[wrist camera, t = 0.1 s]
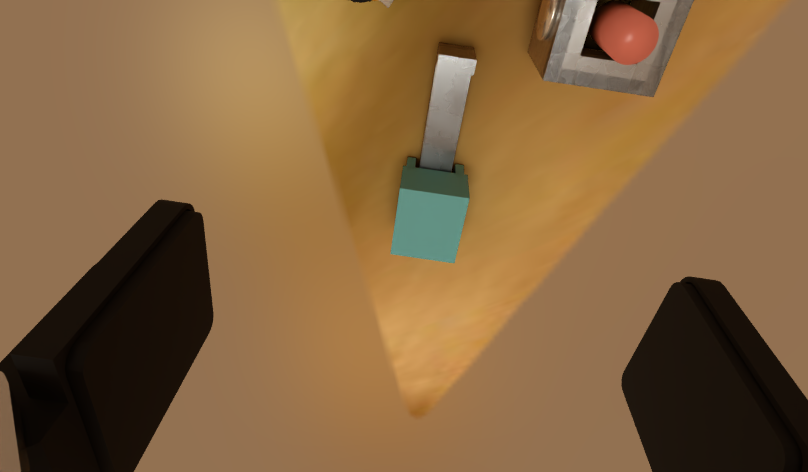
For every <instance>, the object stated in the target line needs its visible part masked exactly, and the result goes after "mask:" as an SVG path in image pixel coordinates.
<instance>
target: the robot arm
mask: <svg viewBox="0 0 808 472" xmlns="http://www.w3.org/2000/svg"><path fill="white" fill-rule="evenodd" d="M212 323H213V306H212V297H211V288H210V278H209V269H208V260H207V250H206V242H205V232H204V223H203V217H202V215H201V213H198V212H195V211H194V208H193V206H192V205H191V204H188V203H182V202H175V201H168V200H158V201H157V202H156V203H155V204H154V205H153V206H152V207H151V208H150V209H149V210H148V211H147V212H146V213H145V214H144V215H143V216H142V217H141V218H140V219H139V220H138V221H137V222H136V223H135V224H134V225H133V226H132V228H131V229H130V230H129V231H128V232H127V233H126V234H125V235H124V236H123V237H122V238H121V239H120V240H119V241H118V242H117V243H116V244H115V245H114V246H113V247H112V248H111V250H109V251H108V253H107V254H106V255H105V256H104V257H103V258H102V259H101V260H100V261H99V262H98V263H97V264H95V265H94V266H93V267H92V268H91V269H90V270H89V271H88V272H87V273H86V274H85V275H84V276H83V277H82V278H81V279H80V280H79V281H78V282H77V283H76V285H75V286H74V287H73V288H72V289H71V290H70V291H69V292H68V293H67V294H66V295H65V296H64V297H63V298H62V299H61V300H60V301H59V302H58V303H57V304H56V305H55V306H54V307H53V308H52V309H51V310H50V311H49V313H48V314H47V315H46V316H45V317H44V318H43V319H42V320H41V321H40V322H39V323H38V324H37V325H36V326H35V327H34V328H33V329H32V330H31V331H30V332H29V333H28V334H27V335H26V337H24V338H23V339H22V341H21V342H20V343H19V344H18V345H17V346H16V347H15V348H14V349H13V350H12V351H11V352H10V353H9V354H8V355H7V356H6V357H5V358H4V359H3V360H2V361H1V362H0V472H134V470H135V468H136V467H137V465H138V463H139V461H140V459H141V457H142V456H143V454H144V452H145V450H146V448H147V446H148V444H149V443H150V441H151V439H152V437H153V435H154V433H155V432H156V430H157V428H158V426H159V424H160V422H161V421H162V419H163V417H164V415H165V413H166V411H167V410H168V408H169V406H170V404H171V402H172V400H173V398H174V396H175V395H176V393H177V391H178V389H179V387H180V386H181V384H182V382H183V380H184V378H185V376H186V375H187V373H188V371H189V369H190V367H191V365H192V363H193V362H194V360H195V358H196V356H197V354H198V353H199V351H200V349H201V347H202V345H203V343H204V341H205V340H206V338H207V336H208V334H209V332H210V330H211V327H212ZM622 390H623V393H624V395H625V398H626V401H627V404H628V407H629V409H630V412H631V415H632V417H633V420H634V423H635V426H636V428H637V431H638V434H639V436H640V439H641V442H642V445H643V447H644V450H645V453H646V456H647V458H648V461H649V464H650V466H651V469H652V472H808V400H807V399H806V397H805V396H804V394H803V393H802V391H801V390H800V389H799V388H798V386H797V385H796V383H795V382H794V381H793V379H792V378H791V376H790V375H789V374H788V372H787V371H786V370H785V368H784V367H783V366H782V364H781V363H780V361H779V360H778V359H777V357H776V356H775V355H774V353H773V352H772V351H771V349H770V348H769V347H768V345H767V344H766V343H765V341H764V340H763V338H762V337H761V336H760V334H759V333H758V331H757V330H756V329H755V327H754V326H753V325H752V323H751V322H750V321H749V319H748V318H747V316H746V315H745V314H744V312H743V311H742V310H741V308H740V307H739V306H738V304H737V303H736V301H735V300H734V299H733V297H732V296H731V295H730V293H729V292H728V291H727V289H726V288H725V286H724V285H723V284H722V283H721V282H719V281H716V280H710V279H703V278H696V277H685V278H684V279H682V280H681V281H680V282H676V283H674V284H673V285H672V286H671V288H670V289H669V291H668V293H667V295H666V296H665V298H664V300H663V302H662V304H661V305H660V307H659V309H658V311H657V313H656V314H655V316H654V318H653V320H652V322H651V324H650V325H649V327H648V329H647V331H646V333H645V334H644V336H643V338H642V340H641V342H640V343H639V345H638V347H637V349H636V351H635V352H634V354H633V356H632V358H631V360H630V362H629V363H628V365H627V367H626V369H625V371H624V373H623V375H622Z"/></svg>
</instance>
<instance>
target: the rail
mask: <svg viewBox="0 0 808 472" xmlns="http://www.w3.org/2000/svg"><path fill="white" fill-rule="evenodd" d="M476 62H477V59H476V54H475V49H474V48H473V47H466V46H460V45H453V44H446V43H440V42H439V46H438V52H437V58H436V65H435V71H434V77H433V83H432V89H431V95H430V102H429V108H428V114H427V120H426V126H425V132H424V138H423V145H422V151H421V157H420V163H419V168H423V169H430V170H437V171H443V172H450V173H451V171H452V166H453V161H454V156H455V152H456V147H457V142H458V137H459V132H460V127H461V122H462V117H463V112H464V107H465V103H466V98H467V93H468V88H469V83H470V78H471V75H473V76H474V71H475V67H476Z"/></svg>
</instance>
